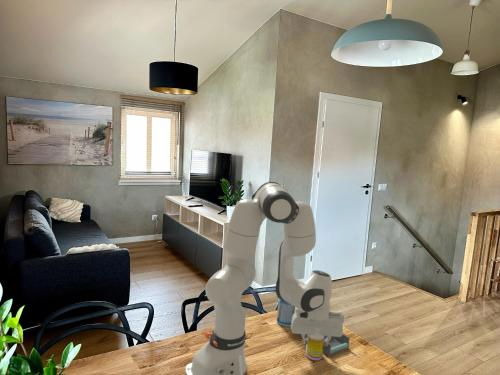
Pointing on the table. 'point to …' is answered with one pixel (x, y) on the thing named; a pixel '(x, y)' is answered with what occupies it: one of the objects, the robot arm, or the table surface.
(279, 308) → the beverage bottle
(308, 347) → the supplement bottle
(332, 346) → the pusher lane
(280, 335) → the table surface
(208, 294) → the robot arm
